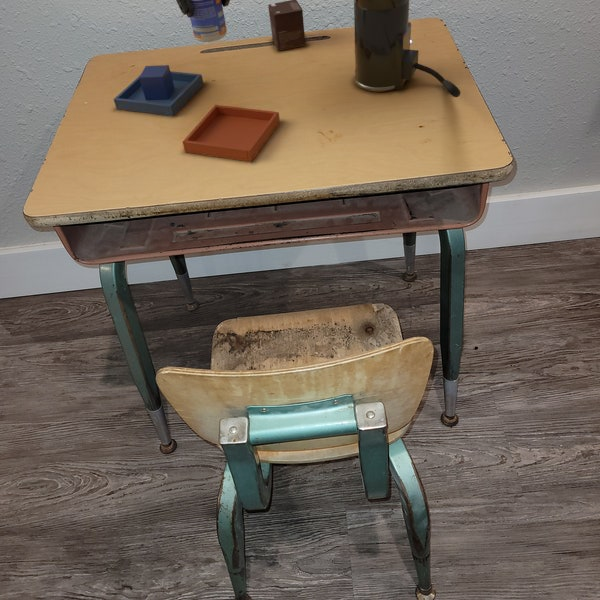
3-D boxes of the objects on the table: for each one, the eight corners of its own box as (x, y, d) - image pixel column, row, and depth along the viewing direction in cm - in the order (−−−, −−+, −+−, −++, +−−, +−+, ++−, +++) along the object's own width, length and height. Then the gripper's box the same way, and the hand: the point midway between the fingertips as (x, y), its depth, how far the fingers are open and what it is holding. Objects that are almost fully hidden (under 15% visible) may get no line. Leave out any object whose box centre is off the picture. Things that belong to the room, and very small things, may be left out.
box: (306, 46, 123) (303, 9, 117) (277, 51, 122) (273, 14, 117) (299, 34, 127) (296, -2, 121) (271, 39, 126) (267, 3, 121)
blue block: (174, 87, 114) (168, 64, 111) (168, 99, 111) (162, 76, 108) (152, 88, 114) (145, 65, 111) (145, 100, 111) (138, 77, 108)
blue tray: (203, 84, 115) (201, 74, 113) (173, 116, 107) (170, 106, 106) (149, 78, 119) (147, 68, 117) (116, 109, 111) (113, 99, 110)
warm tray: (280, 122, 103) (278, 112, 101) (251, 161, 95) (249, 151, 94) (217, 114, 106) (215, 104, 105) (185, 152, 99) (182, 141, 97)
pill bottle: (230, 39, 94) (218, -28, 87) (196, 45, 94) (182, -21, 86) (224, 26, 98) (212, -39, 91) (191, 32, 97) (177, -33, 90)
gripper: (116, -103, 84) (168, 9, 85) (207, -125, 88) (256, -18, 90) (115, -69, 91) (164, 34, 93) (200, -91, 96) (245, 8, 97)
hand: (209, 8), depth 91 cm, fingers closed on pill bottle, 5 cm apart
